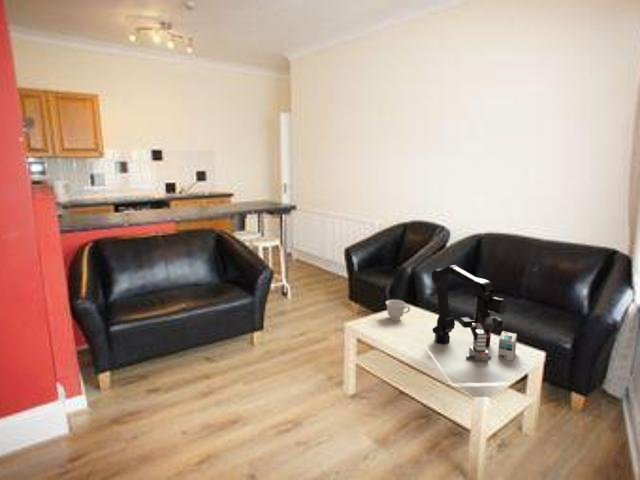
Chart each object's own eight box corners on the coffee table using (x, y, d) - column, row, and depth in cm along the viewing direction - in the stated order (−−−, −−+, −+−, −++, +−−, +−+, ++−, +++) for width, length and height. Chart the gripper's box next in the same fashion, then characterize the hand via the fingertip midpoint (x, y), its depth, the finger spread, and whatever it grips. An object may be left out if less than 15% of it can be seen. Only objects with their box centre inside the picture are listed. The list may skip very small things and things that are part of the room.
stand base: (470, 367, 181) (471, 355, 180) (460, 355, 193) (461, 343, 192) (496, 367, 182) (497, 354, 181) (484, 354, 193) (485, 343, 192)
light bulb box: (512, 363, 185) (514, 341, 183) (497, 359, 188) (498, 338, 186) (515, 354, 194) (517, 333, 192) (500, 350, 197) (502, 330, 195)
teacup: (405, 325, 229) (406, 308, 227) (381, 319, 237) (382, 304, 235) (412, 318, 239) (413, 302, 237) (390, 313, 247) (390, 298, 245)
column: (476, 353, 184) (477, 333, 182) (472, 349, 188) (474, 329, 186) (485, 352, 184) (486, 333, 183) (481, 348, 188) (482, 329, 187)
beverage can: (492, 348, 199) (494, 320, 197) (479, 349, 199) (481, 321, 196) (485, 343, 206) (488, 315, 203) (473, 343, 205) (475, 316, 203)
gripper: (469, 314, 174) (467, 347, 177) (511, 313, 175) (508, 346, 178) (459, 305, 185) (457, 337, 188) (498, 305, 186) (496, 336, 189)
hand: (479, 339), depth 185 cm, fingers closed on column, 4 cm apart
